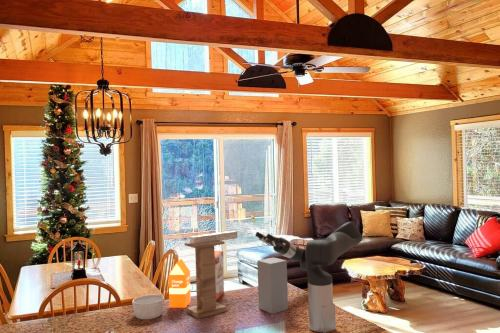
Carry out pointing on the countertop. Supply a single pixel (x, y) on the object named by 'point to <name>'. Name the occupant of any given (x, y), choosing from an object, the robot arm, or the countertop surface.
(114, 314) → the countertop surface
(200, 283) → the wooden pedestal
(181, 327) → the countertop surface
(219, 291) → the cracker box
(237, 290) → the countertop surface
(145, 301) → the ramekin
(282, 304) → the plinth
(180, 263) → the orange juice
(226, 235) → the bar
